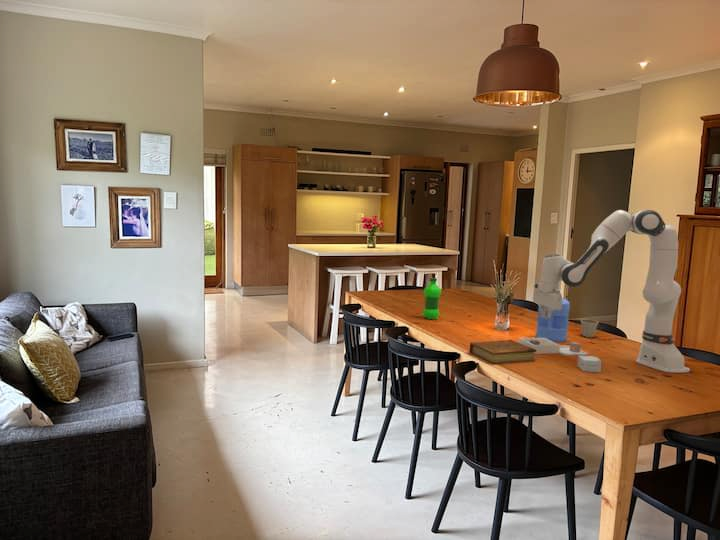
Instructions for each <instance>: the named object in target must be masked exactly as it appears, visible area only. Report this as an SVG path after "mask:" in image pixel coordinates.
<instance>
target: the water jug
mask: <svg viewBox="0 0 720 540" xmlns="http://www.w3.org/2000/svg"><path fill="white" fill-rule="evenodd" d="M570 304H571V303H570V301H569V300H567V299H565V298H563V297H562V309H561V310H553V312H552V313H551V317H550V319H548V318H542V317H540V316H541V309H540V304H538V311H537V318H536V319H537V320H536V322H537V323H536V332H535V338H546V339H548V340H550V341H552V342H554V343H564V342H566V341H567V340H568V339H567V338H568V326H569V316H570V308H571V305H570ZM545 309H548V307H545Z"/></svg>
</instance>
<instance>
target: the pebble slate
mask: <svg viewBox="0 0 720 540" xmlns="http://www.w3.org/2000/svg"><path fill="white" fill-rule="evenodd" d="M546 313H548V309H541V316H540V317H542V318H548V319H550V317H547V316H546Z"/></svg>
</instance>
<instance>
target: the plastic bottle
mask: <svg viewBox="0 0 720 540" xmlns="http://www.w3.org/2000/svg"><path fill="white" fill-rule="evenodd" d="M437 281H438V278H436V277H430V278H429V282H430V283H429V284H428V285H427V286H426V287H424V289H423V296H425V302H424V303H425V304H424V308H423V311H422V314H423V316H424V317H425V318H428V319H427V320H430V319H434V320H435V319H437V318H438V317H439V316H440V311H439V310H440V309H439V300H440V299H439V298H440V296H441V295H442V289H441V288H440V287H439V286H438V284H437Z"/></svg>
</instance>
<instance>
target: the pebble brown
mask: <svg viewBox="0 0 720 540" xmlns="http://www.w3.org/2000/svg"><path fill="white" fill-rule="evenodd" d="M569 346H570V349H569V350H570V351H572V352H580V350H581V343H579V342H577V341H570V342H569Z"/></svg>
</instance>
